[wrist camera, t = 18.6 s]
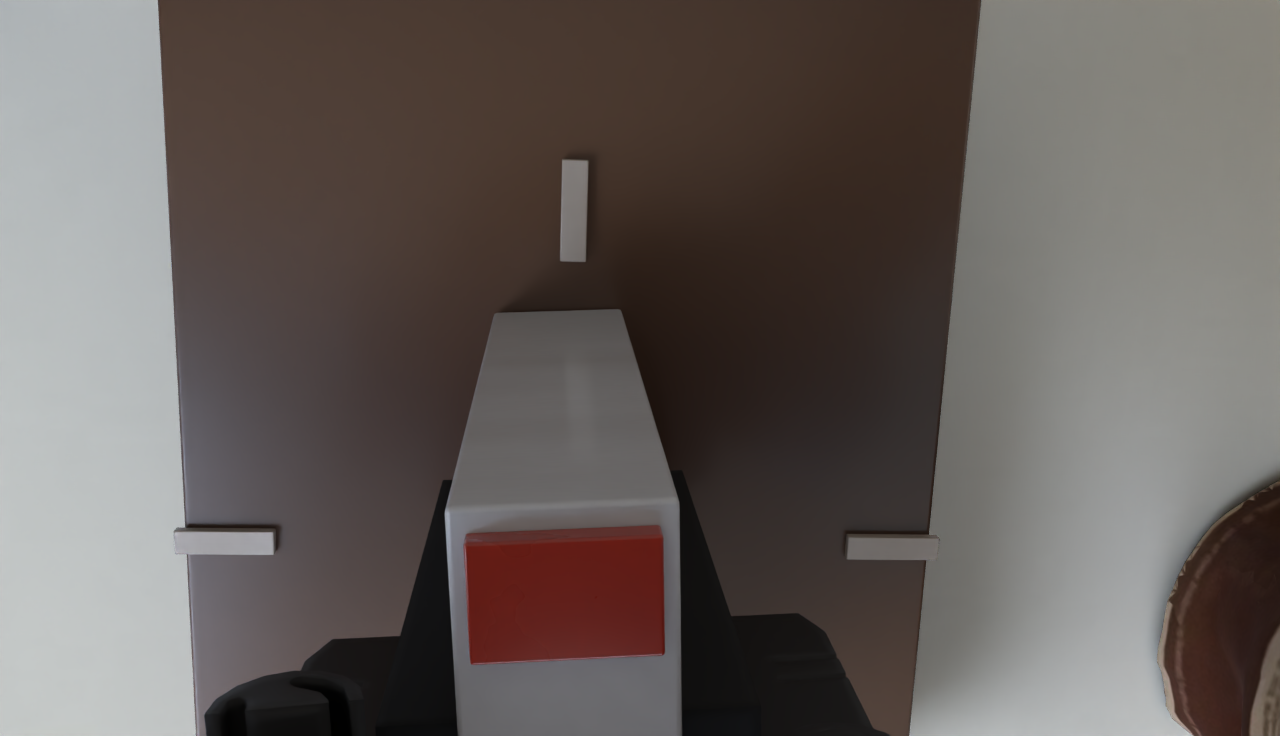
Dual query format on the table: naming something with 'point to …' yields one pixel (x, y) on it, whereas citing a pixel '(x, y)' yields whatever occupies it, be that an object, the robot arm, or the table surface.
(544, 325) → the white block
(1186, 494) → the table surface
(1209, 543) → the coffee cup
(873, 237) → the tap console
